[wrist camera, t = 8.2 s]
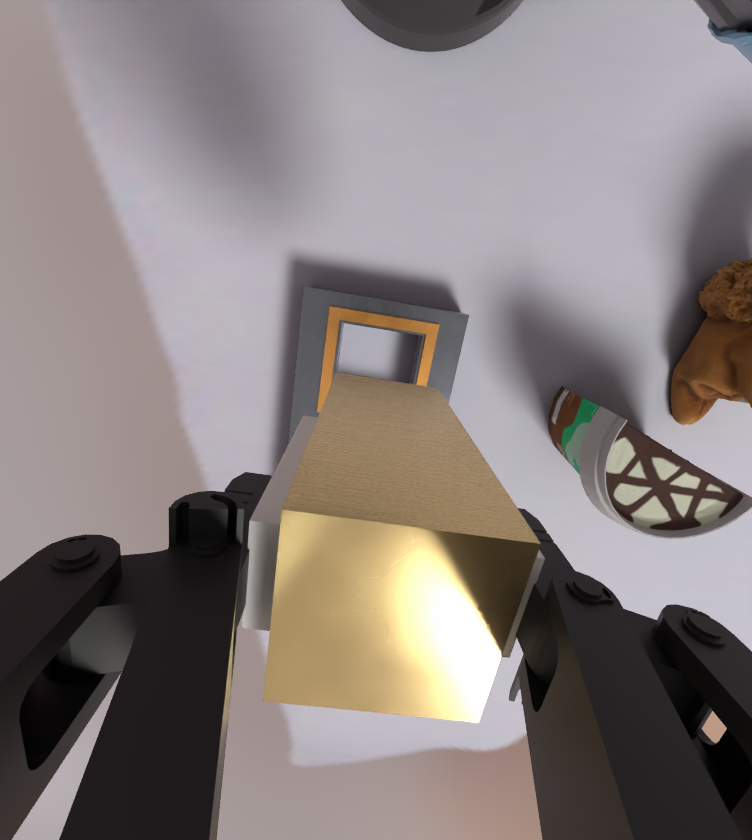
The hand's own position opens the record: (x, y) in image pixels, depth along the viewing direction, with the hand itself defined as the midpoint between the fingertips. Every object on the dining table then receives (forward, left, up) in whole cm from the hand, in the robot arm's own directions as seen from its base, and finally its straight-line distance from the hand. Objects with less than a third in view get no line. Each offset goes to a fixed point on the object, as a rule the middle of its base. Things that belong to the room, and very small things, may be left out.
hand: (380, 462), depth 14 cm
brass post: (0, 0, -4) cm, 4 cm away
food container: (+4, +19, -19) cm, 27 cm away
